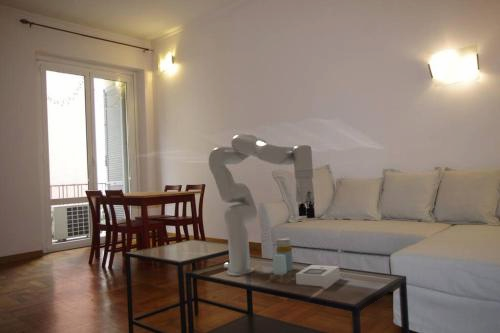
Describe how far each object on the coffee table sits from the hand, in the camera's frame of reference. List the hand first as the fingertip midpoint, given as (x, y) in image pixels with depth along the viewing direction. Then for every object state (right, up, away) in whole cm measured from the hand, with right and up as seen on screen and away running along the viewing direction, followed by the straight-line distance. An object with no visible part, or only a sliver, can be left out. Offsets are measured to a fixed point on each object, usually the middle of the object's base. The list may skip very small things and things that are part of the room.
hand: (306, 217), depth 160 cm
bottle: (-7, -28, +17) cm, 33 cm away
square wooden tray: (-11, -27, 0) cm, 29 cm away
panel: (+4, -26, -4) cm, 26 cm away
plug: (-11, -26, +1) cm, 28 cm away
